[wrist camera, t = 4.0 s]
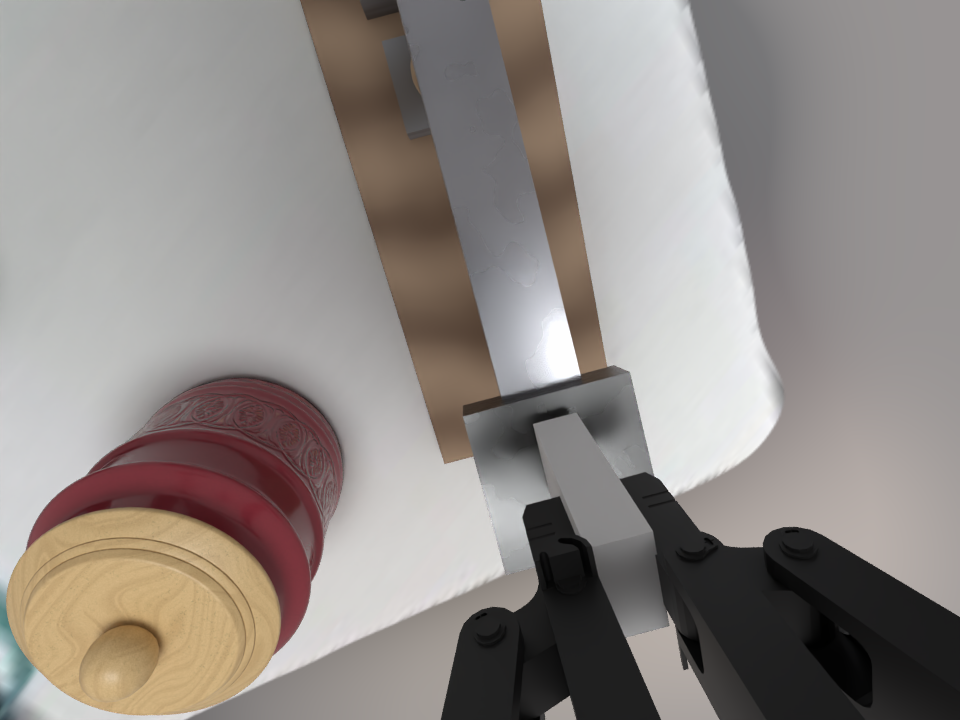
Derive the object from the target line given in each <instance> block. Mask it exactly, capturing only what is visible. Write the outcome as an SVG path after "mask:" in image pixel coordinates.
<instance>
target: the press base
mask: <svg viewBox="0 0 960 720" xmlns="http://www.w3.org/2000/svg"><path fill="white" fill-rule="evenodd" d="M300 1H301V5H302V8H303V11H304V14H305V17H306V21H307V24H308V27H309V30H310V33H311V37H312V40H313V43H314V46H315V50H316V53H317V56H318V59H319V62H320V66H321V69H322V72H323V75H324V78H325V82H326V85H327V88H328V91H329V94H330V98H331V101H332V104H333V107H334V111H335V114H336V117H337V120H338V123H339V127H340V130H341V133H342V136H343V139H344V143H345V146H346V149H347V152H348V155H349V159H350V162H351V165H352V168H353V171H354V175H355V178H356V181H357V184H358V188H359V191H360V194H361V197H362V200H363V204H364V207H365V210H366V213H367V216H368V220H369V223H370V226H371V229H372V232H373V236H374V239H375V242H376V245H377V248H378V252H379V255H380V258H381V261H382V265H383V268H384V271H385V274H386V277H387V281H388V284H389V287H390V290H391V293H392V297H393V300H394V303H395V306H396V309H397V313H398V316H399V319H400V322H401V326H402V329H403V332H404V335H405V338H406V342H407V345H408V348H409V351H410V354H411V358H412V361H413V364H414V367H415V370H416V374H417V377H418V380H419V383H420V386H421V390H422V393H423V396H424V399H425V403H426V406H427V409H428V412H429V415H430V419H431V422H432V425H433V428H434V431H435V435H436V438H437V441H438V444H439V447H440V451H441V454H442V457H443V460H444V463H445V464H446V463H450V462H454V461H458V460H461V459H465V458H469V457H473V452H472V449H471V445H470V441H469V438H468V434H467V430H466V427H465V423H464V419H463V405H467V404H471V403H474V402H478V401H482V400H486V399H489V398H493V397H497V396H500V393H499V389H498V385H497V381H496V378H495V374H494V370H493V366H492V363H491V359H490V355H489V351H488V347H487V344H486V340H485V336H484V332H483V328H482V325H481V321H480V317H479V313H478V309H477V306H476V302H475V298H474V294H473V291H472V287H471V283H470V279H469V275H468V272H467V268H466V264H465V260H464V256H463V253H462V249H461V245H460V241H459V237H458V234H457V230H456V226H455V222H454V219H453V215H452V211H451V207H450V203H449V200H448V196H447V192H446V188H445V184H444V181H443V177H442V173H441V169H440V165H439V162H438V158H437V154H436V150H435V147H434V143H433V139H432V135H431V131H430V128H429V124H428V120H427V116H426V112H425V109H424V105H423V101H422V97H421V93H420V90H419V86H418V82H417V78H416V75H415V71H414V67H413V63H412V59H411V56H410V52H409V48H408V44H407V40H406V37H405V33H404V29H403V25H402V21H401V18H400V14H399V10H398V6H397V3H396V0H300ZM489 4H490V8H491V12H492V16H493V20H494V24H495V28H496V32H497V36H498V41H499V45H500V49H501V53H502V57H503V61H504V65H505V69H506V73H507V77H508V81H509V85H510V89H511V93H512V98H513V102H514V106H515V110H516V114H517V118H518V122H519V126H520V130H521V134H522V138H523V142H524V146H525V151H526V155H527V159H528V163H529V167H530V171H531V175H532V179H533V183H534V187H535V191H536V195H537V199H538V203H539V208H540V212H541V216H542V220H543V224H544V228H545V232H546V236H547V240H548V244H549V248H550V252H551V256H552V261H553V265H554V269H555V273H556V277H557V281H558V285H559V289H560V293H561V297H562V301H563V305H564V309H565V313H566V318H567V322H568V326H569V330H570V334H571V338H572V342H573V346H574V350H575V354H576V358H577V362H578V366H579V371H580V374H583V373H587V372H591V371H594V370H598V369H602V368H606V367H607V364H606V359H605V353H604V348H603V342H602V337H601V331H600V326H599V320H598V315H597V309H596V303H595V298H594V292H593V287H592V281H591V276H590V270H589V265H588V259H587V254H586V248H585V243H584V237H583V231H582V226H581V220H580V215H579V209H578V204H577V198H576V193H575V187H574V182H573V176H572V171H571V165H570V160H569V154H568V148H567V143H566V137H565V132H564V126H563V121H562V115H561V110H560V104H559V99H558V93H557V88H556V82H555V76H554V71H553V65H552V60H551V54H550V49H549V43H548V38H547V32H546V27H545V21H544V16H543V10H542V5H541V0H489Z"/></svg>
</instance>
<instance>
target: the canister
mask: <svg viewBox="0 0 960 720" xmlns="http://www.w3.org/2000/svg"><path fill="white" fill-rule="evenodd" d="M342 483H343V466H342V457H341V451H340V447H339V443H338V440H337V438H336V435H335V433H334V431H333V429H332V428H331V426H330V424H329V423H328V421H327V420H326V419H325V417H324V416H323V415H322V414H321V413H320V412H319V411H318V410H317V409H316V408H315V407H314V406H313V405H312V404H311V403H310V402H308V401H307V400H306V399H304V398H303V397H301V396H300V395H298V394H297V393H295V392H293V391H291V390H289V389H287V388H285V387H282V386H280V385H277V384H274V383H271V382H267V381H263V380H258V379H249V378H231V379H223V380H217V381H214V382H210V383H207V384H204V385H201V386H198V387H195V388H193V389H190V390H188V391H186V392H184V393H182V394H180V395H178V396H177V397H175V398H174V399H172V400H171V401H170V402H168V403H167V404H166V405H165V406H163V407H162V408H161V409H160V410H158V411H157V412H156V413H155V414H154V415H153V416H152V417H151V419H150V420H149V421H148V422H147V424H146V425H145V426H144V427H143V428H142V429H141V430H140V431H138V432H137V433H136V434H135V435H134V436H133V437H131V438H130V439H129V440H128V441H127V442H125V443H124V444H122V445H120V446H118V447H117V448H115V449H114V450H112V451H110V452H109V453H108V454H107V455H105V456H104V457H103V458H102V459H101V460H99V461H98V462H97V463H96V464H95V465H94V466H93V468H92V469H91V470H90V471H89V472H88V474H87V475H86V476H85V477H83V478H81V479H79V480H77V481H75V482H74V483H72V484H71V485H69V486H68V487H66V488H65V489H64V490H62V491H61V492H60V493H58V494H57V495H56V496H55V497H54V498H53V499H52V500H51V501H50V502H49V503H48V505H47V506H46V507H45V508H44V509H43V511H42V512H41V514H40V515H39V517H38V518H37V520H36V522H35V524H34V526H33V528H32V530H31V533H30V536H29V539H28V542H27V547H26V551H25V553H24V554H23V555H22V557H21V558H20V559H19V561H18V563H17V565H16V566H15V568H14V570H13V573H12V575H11V578H10V581H9V584H8V590H7V599H6V604H7V615H8V620H9V624H10V627H11V630H12V633H13V635H14V637H15V639H16V642H17V643H18V645H19V647H20V648H21V650H22V651H23V653H24V654H25V656H26V657H27V658H28V659H29V661H30V662H31V663H32V664H33V665H34V666H35V667H36V668H37V669H38V670H39V671H40V672H41V673H42V674H43V675H44V676H45V677H46V678H47V679H48V680H49V681H50V682H51V683H52V684H53V685H55V686H56V687H57V688H58V689H60V690H61V691H63V692H64V693H66V694H67V695H69V696H71V697H72V698H74V699H76V700H78V701H80V702H82V703H85V704H87V705H89V706H92V707H95V708H98V709H101V710H105V711H109V712H114V713H120V714H127V715H170V714H180V713H187V712H192V711H196V710H200V709H204V708H207V707H210V706H213V705H215V704H218V703H220V702H223V701H225V700H227V699H229V698H231V697H232V696H234V695H236V694H237V693H239V692H240V691H242V690H243V689H245V688H246V687H247V686H248V685H250V684H251V683H252V682H253V681H254V680H255V679H256V678H257V677H258V676H259V675H260V674H261V673H262V671H263V670H264V669H265V667H266V666H267V664H268V663H269V661H270V659H271V658H272V656H273V655H274V654H275V653H277V652H278V651H279V650H280V649H281V648H282V647H283V646H284V645H285V644H286V643H287V642H288V641H289V640H290V638H291V637H292V636H293V634H294V633H295V632H296V630H297V629H298V627H299V625H300V624H301V622H302V620H303V618H304V615H305V613H306V610H307V607H308V603H309V598H310V592H311V582H312V580H313V579H314V577H315V575H316V573H317V570H318V568H319V565H320V562H321V558H322V554H323V547H324V538H325V534H326V531H327V528H328V524H329V521H330V519H331V518H332V516H333V514H334V512H335V510H336V507H337V504H338V501H339V497H340V494H341V489H342Z"/></svg>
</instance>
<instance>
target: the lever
mask: <svg viewBox="0 0 960 720" xmlns="http://www.w3.org/2000/svg"><path fill="white" fill-rule="evenodd" d="M396 3H397V6H398V10H399V14H400V18H401V21H402V25H403V29H404V33H405V37H406V40H407V44H408V48H409V52H410V56H411V59H412V63H413V67H414V71H415V75H416V78H417V82H418V86H419V90H420V93H421V97H422V101H423V105H424V109H425V112H426V116H427V120H428V124H429V128H430V131H431V135H432V139H433V143H434V147H435V150H436V154H437V158H438V162H439V165H440V169H441V173H442V177H443V181H444V184H445V188H446V192H447V196H448V200H449V203H450V207H451V211H452V215H453V219H454V222H455V226H456V230H457V234H458V237H459V241H460V245H461V249H462V253H463V256H464V260H465V264H466V268H467V272H468V275H469V279H470V283H471V287H472V291H473V294H474V298H475V302H476V306H477V309H478V313H479V317H480V321H481V325H482V328H483V332H484V336H485V340H486V344H487V347H488V351H489V355H490V359H491V363H492V366H493V370H494V374H495V378H496V381H497V385H498V389H499V393H500V396H497V397H493V398H489V399H486V400H482V401H478V402H474V403H471V404H467V405H463V419H464V423H465V427H466V430H467V434H468V438H469V441H470V445H471V449H472V452H473V456H474V460H475V463H476V467H477V471H478V474H479V478H480V481H481V485H482V489H483V492H484V496H485V500H486V503H487V507H488V511H489V514H490V518H491V522H492V525H493V529H494V533H495V536H496V540H497V544H498V547H499V551H500V555H501V558H502V562H503V566H504V569H505V573H506V575H508V574H511V573H515V572H519V571H522V570H526V569H530V568H534V567H535V564H534V560H533V557H532V553H531V549H530V545H529V542H528V538H527V534H526V530H525V527H524V523H523V519H522V516H523V513H524V510H525V507H526V505H528V504H532V503H536V502H540V501H543V500H547V499H551V495H550V493H549V489H548V484H547V480H546V476H545V472H544V468H543V464H542V460H541V455H540V451H539V447H538V443H537V439H536V435H535V431H534V426H533V424H535V423H539V422H542V421H546V420H550V419H554V418H557V417H561V416H565V415H569V414H572V413H577V414H578V416H579V417H580V419H581V420H582V422H583V423H584V425H585V427H586V428H587V430H588V431H589V433H590V434H591V436H592V437H593V439H594V441H595V442H596V444H597V445H598V447H599V448H600V450H601V451H602V453H603V454H604V456H605V458H606V459H607V461H608V462H609V464H610V465H611V467H612V468H613V470H614V472H615V473H616V475H617V476H618V478H619V479H621V478H625V477H628V476H632V475H636V474H640V473H643V472H646V473H648V474H650V475H652V476H654V474H653V469H652V465H651V461H650V457H649V452H648V448H647V444H646V439H645V435H644V431H643V427H642V422H641V418H640V414H639V410H638V405H637V401H636V397H635V393H634V388H633V384H632V380H631V376H630V372H628V371H626V370H623V369H621V368H619V367H616V366H614V365H613V366H609V367H606V368H602V369H598V370H594V371H591V372H587V373H583V374H580V371H579V366H578V362H577V358H576V354H575V350H574V346H573V342H572V338H571V334H570V330H569V326H568V322H567V318H566V313H565V309H564V305H563V301H562V297H561V293H560V289H559V285H558V281H557V277H556V273H555V269H554V265H553V261H552V256H551V252H550V248H549V244H548V240H547V236H546V232H545V228H544V224H543V220H542V216H541V212H540V208H539V203H538V199H537V195H536V191H535V187H534V183H533V179H532V175H531V171H530V167H529V163H528V159H527V155H526V151H525V146H524V142H523V138H522V134H521V130H520V126H519V122H518V118H517V114H516V110H515V106H514V102H513V98H512V93H511V89H510V85H509V81H508V77H507V73H506V69H505V65H504V61H503V57H502V53H501V49H500V45H499V41H498V36H497V32H496V28H495V24H494V20H493V16H492V12H491V8H490V4H489V0H396Z"/></svg>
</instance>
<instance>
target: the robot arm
mask: <svg viewBox="0 0 960 720" xmlns="http://www.w3.org/2000/svg"><path fill="white" fill-rule="evenodd" d="M533 426H534V431H535V435H536V439H537V443H538V447H539V451H540V455H541V460H542V464H543V468H544V472H545V476H546V480H547V484H548V489H549V493H550V495H551V499H547V500H543V501H540V502H536V503H532V504H528V505H526V507H525V510H524V513H523V516H522V519H523V523H524V527H525V530H526V534H527V538H528V542H529V545H530V549H531V553H532V557H533V560H534V564H535V568H536V572H537V575H538V580H539V585H538V590H537V592H536V594H535V596H534V597H533V598H532V600H531V601H530V602H529V603H528V604H526V605H525V606H523V607H522V608H521V609H519V610H517V611H516V612H514V613H513V612H511V611H509V610H507V609H505V608H500V607H491V608H487V609H482V610H480V611H479V612H477V613H475V614H473V615H472V616H471V617H470V618H469V619H468V620H467V621H466V622H465V623H464V625H463V627H462V629H461V632H460V635H459V639H458V644H457V649H456V653H455V657H454V662H453V667H452V671H451V676H450V681H449V685H448V690H447V694H446V699H445V703H444V708H443V712H442V717H441V720H545V714H544V713H545V712H546V711H548V710H549V709H550V708H552V707H553V706H555V705H556V704H558V703H559V702H561V701H562V700H564V699H565V698H567V697H568V696H570V698H571V701H572V705H573V709H574V712H575V716H576V720H661V719H660V717H659V714H658V712H657V710H656V707H655V705H654V703H653V700H652V698H651V696H650V693H649V691H648V689H647V686H646V684H645V682H644V680H643V677H642V675H641V673H640V670H639V668H638V666H637V663H636V661H635V659H634V656H633V654H632V652H631V650H630V647H629V645H628V643H627V640H626V638H627V637H630V636H634V635H637V634H642V633H645V632H649V631H653V630H656V629H660V628H664V627H668V626H669V621H668V615H667V611H668V613H669V615H670V616H671V618H672V620H673V621H674V623H675V627H676V633H677V639H678V644H679V650H680V656H681V662H682V665H683V669H684V670H686V669H688V663H687V660H688V662H689V663H690V665H691V667H692V669H693V671H694V673H695V675H696V677H697V678H698V680H699V682H700V684H701V686H702V688H703V689H704V691H705V693H706V695H707V697H708V699H709V701H710V702H711V705H712V706H713V708H714V710H715V712H716V714H717V716H718V718H719V719H720V720H960V617H959V616H957V615H956V614H954V613H952V612H951V611H949V610H947V609H946V608H944V607H942V606H941V605H939V604H937V603H935V602H934V601H932V600H930V599H929V598H927V597H925V596H924V595H922V594H920V593H919V592H917V591H915V590H914V589H912V588H910V587H909V586H907V585H905V584H903V583H902V582H900V581H899V580H897V579H895V578H894V577H892V576H890V575H889V574H887V573H885V572H883V571H882V570H880V569H878V568H877V567H875V566H873V565H872V564H870V563H868V562H867V561H865V560H863V559H861V558H860V557H858V556H856V555H855V554H853V553H852V552H850V551H848V550H847V549H845V548H843V547H842V546H840V545H838V544H837V543H835V542H833V541H831V540H830V539H828V538H826V537H825V536H823V535H821V534H819V533H817V532H814V531H812V530H809V529H804V528H799V527H783V528H780V529H776V530H773V531H771V532H770V533H769V534H768V535H766V536H765V539H764V542H763V547H756V548H755V547H753V548H737V547H729V546H724V545H723V544H722V543H721V542H720V541H719V540H718V539H717V538H715V537H714V536H712V535H710V534H707V533H704V532H700V531H699V529H698V528H697V527H696V526H695V524H694V523H693V522H692V520H691V519H690V518H689V517H688V515H687V514H686V513H685V511H684V510H683V509H682V507H681V506H680V505H679V504H678V502H677V501H675V499H674V497H673V496H672V495H671V493H670V492H668V490H667V488H666V487H665V486H664V485H663V483H662V482H661V481H660V479H658V478H656V477H654V476H652V475H650V474H648V473H646V472H643V473H640V474H636V475H632V476H628V477H625V478H621V479H619V478H618V476H617V475H616V473H615V472H614V470H613V468H612V467H611V465H610V464H609V462H608V461H607V459H606V458H605V456H604V454H603V453H602V451H601V450H600V448H599V447H598V445H597V444H596V442H595V441H594V439H593V437H592V436H591V434H590V433H589V431H588V430H587V428H586V427H585V425H584V423H583V422H582V420H581V419H580V417H579V416H578V414H577V413H572V414H569V415H565V416H561V417H557V418H554V419H550V420H546V421H542V422H539V423H535V424H533Z"/></svg>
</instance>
